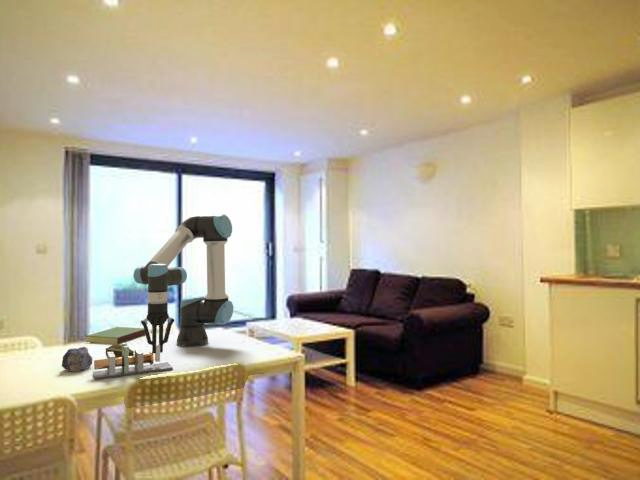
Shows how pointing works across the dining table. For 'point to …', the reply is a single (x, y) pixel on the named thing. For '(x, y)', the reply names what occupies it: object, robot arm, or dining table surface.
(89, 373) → the dining table surface
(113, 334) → the hardcover book
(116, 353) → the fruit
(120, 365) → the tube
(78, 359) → the rock
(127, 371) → the collar rail
